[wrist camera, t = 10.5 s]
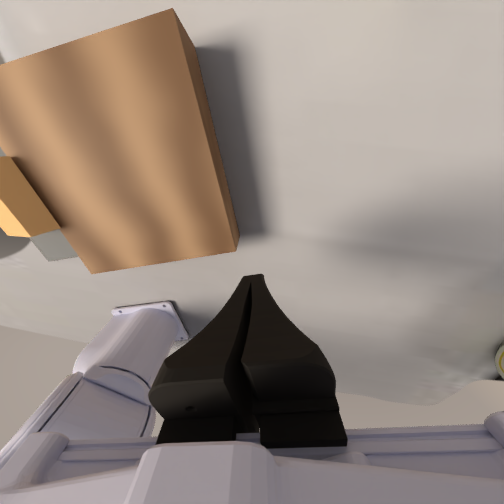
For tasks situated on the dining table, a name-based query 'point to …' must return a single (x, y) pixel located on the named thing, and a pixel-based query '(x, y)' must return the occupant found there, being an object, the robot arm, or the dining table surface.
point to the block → (21, 204)
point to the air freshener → (500, 360)
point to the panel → (121, 145)
